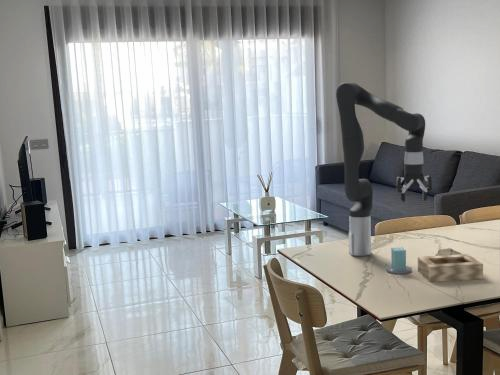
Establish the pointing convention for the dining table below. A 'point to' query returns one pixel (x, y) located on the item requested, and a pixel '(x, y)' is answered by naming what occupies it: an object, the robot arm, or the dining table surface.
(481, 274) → the box
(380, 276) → the dining table surface
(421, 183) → the robot arm
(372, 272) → the dining table surface
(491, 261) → the dining table surface
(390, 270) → the coaster
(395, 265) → the block
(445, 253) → the rock
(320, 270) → the dining table surface
